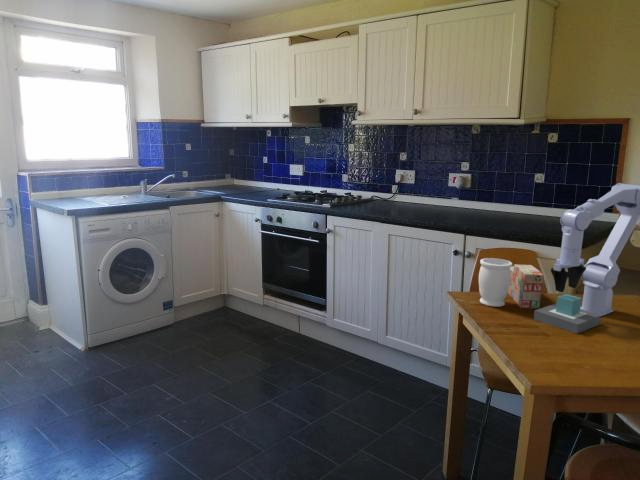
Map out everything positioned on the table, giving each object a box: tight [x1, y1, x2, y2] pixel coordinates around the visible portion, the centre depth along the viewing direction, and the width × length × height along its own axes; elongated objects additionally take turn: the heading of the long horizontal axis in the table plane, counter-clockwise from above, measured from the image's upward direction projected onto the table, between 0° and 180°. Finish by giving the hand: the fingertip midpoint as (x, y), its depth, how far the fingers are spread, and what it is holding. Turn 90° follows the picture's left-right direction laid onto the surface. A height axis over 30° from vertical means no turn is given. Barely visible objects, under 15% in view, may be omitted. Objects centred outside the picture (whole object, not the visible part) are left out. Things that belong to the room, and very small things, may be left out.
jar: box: [478, 257, 513, 308], centre depth 174 cm, size 11×10×15 cm
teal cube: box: [556, 293, 583, 316], centre depth 158 cm, size 5×5×5 cm
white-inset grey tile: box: [533, 302, 602, 335], centre depth 159 cm, size 14×14×3 cm
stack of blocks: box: [507, 264, 545, 309], centre depth 180 cm, size 21×6×12 cm, turn 175°
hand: (566, 289), depth 161 cm, fingers open, 7 cm apart
